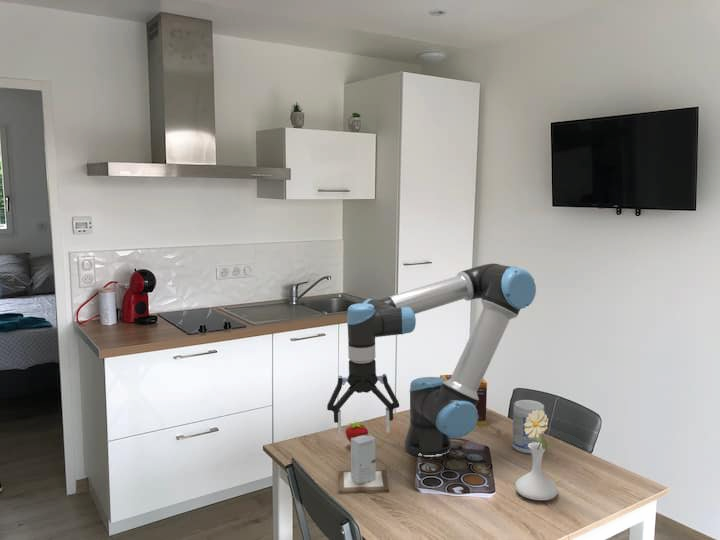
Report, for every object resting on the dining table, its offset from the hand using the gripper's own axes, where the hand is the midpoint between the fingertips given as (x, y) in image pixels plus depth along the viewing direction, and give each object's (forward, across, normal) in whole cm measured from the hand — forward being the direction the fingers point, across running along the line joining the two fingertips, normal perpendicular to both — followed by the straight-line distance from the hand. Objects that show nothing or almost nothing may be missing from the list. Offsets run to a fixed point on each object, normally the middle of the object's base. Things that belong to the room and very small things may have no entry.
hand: (363, 432), depth 170 cm
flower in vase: (+16, -46, +10) cm, 50 cm away
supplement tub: (+16, -53, -20) cm, 59 cm away
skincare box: (+14, 0, 0) cm, 14 cm away
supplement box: (+16, -37, -45) cm, 61 cm away
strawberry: (+15, +2, -23) cm, 28 cm away
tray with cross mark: (+15, +1, 0) cm, 15 cm away
